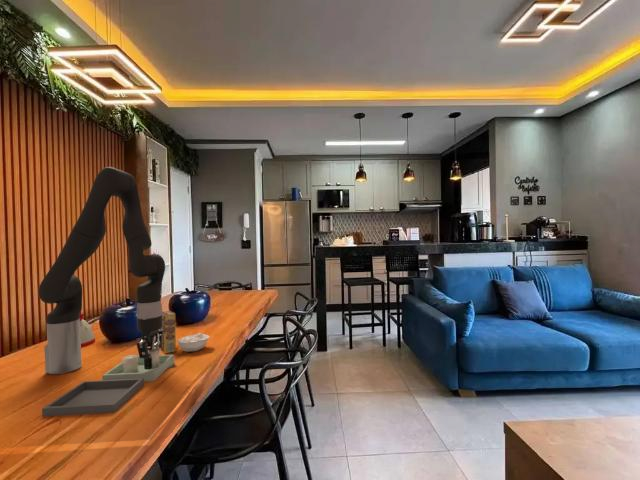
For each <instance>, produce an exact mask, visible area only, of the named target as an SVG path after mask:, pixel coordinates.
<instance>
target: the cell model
mask: <svg viewBox="0 0 640 480" xmlns="http://www.w3.org/2000/svg"><path fill="white" fill-rule="evenodd" d="M209 339H210V336H209V335H208V334H204V333H201V332H198V333H195V334H189V335H187V336H183V337H180V338H178V340H177V344H178V346H179V348H180V349H181V350H183V351H184V352H186V353H188V352H189V353H191V352H198V351H200V350H202V349H203V348H205V346H206V345H207V343H208V341H209Z"/></svg>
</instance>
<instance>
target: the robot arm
mask: <svg viewBox="0 0 640 480" xmlns="http://www.w3.org/2000/svg"><path fill="white" fill-rule="evenodd" d="M112 197H117V198H119V199H120V201H121V203H122V206H123V209H124V215H123V219H122V225H121V226H122V227H121V228H122V232H123V236H124V239H125V241H126V244H127V248H128V267H129V271H130V272H131V274H132V275H133V276H134V277H136V278H145V277H147V278H146V281H145V282H143V283H141V284H139V285H138V286H137V288H136V300H137V301H136V303H137V305H136V325H137V326H136V327H137V328H136V329H137V331H138V332H140V333H142V334H141V341H137V342H136V347H137V352H138V356H139V357H140V358H144V369H145V370H148V369H151V368H152V350H159V351H160V350H161V349H160V348H161V347H162V337H163V330H160V329H161V328H162V327H163V319H162V311H163V305H162V298H161V297H162V296H161V295H162V293H161V292H162V291H161V288H162V284H163V280H164V276H165V272H166V263H165V260H164V258H163V257H162V255H160V254H144V251H146V250H149V249H150V248H151V247H152V240H151V236H150V234H149V231H148V228H147V225H146V223H145V220H144V216H143V212H142V205H141V202H140V201H141V200H140V195H139V189H138V183H137V180H136V178H135V177H134V176H133V174H130V173H128V172H127V171H123V170H121V169H117V168H116V167H113V166H106V167H103V168H102V169H101V170H99V172H98V173H97V175H96V176H95V179H94V181H93V184H92V186H91V189H90V192H89V194H88V197H87V199H86V202H85V204H84V205H83V208H82V210H81V212H80V214H79V217H78V219H77V220H76V222H75V224H74V225H73V227H72V229H71V231H70V233H69V235H68V237H67V240H66V241H65V244H64V245H63V247H62V248H61V250H60V252H59V253H58V255H57V258H56V259H55V261H54V263H53V264H52V265H51V267H50V269H49V270H48V271H47V273H46V274H45V276H44V278H43V279H42V280H41V282H40V284H39V287H38V296H39V299H40V300H41V302H43V303H45V304H49V305H51V304H53V305H54V304H55V306H54V308H53V310H51V311H50V312H49V313H47V315H46V318H45V319H46V320H45V321H46V340H47V341H46V342H47V344H45V345H44V346H43V347H44V367H45V370H44V371H45V374H49V375H62V374H66V373H70V372H71V373H72V372H74V371H76V370H78V369H80V368H81V367H83V366H82V365H83V364H82V347H81V339H80V312H81V313H82V310H83V285H82V282H81V281H82V280H80V278H79V277H78V276H77V275H74V274H75V273H76V272H77V270H78V269H79V268H80V267H81V266H82V265H83V264H84V263H85V262H86V261H87V260H88V259H89V258H90V257H92V256H93V254H95V252H97V251H98V249H99V247H100V245H101V243H102V241H103V239H104V237H105V236H106V232H107V223H106V208H107V205H108V203H109V201H110V199H111V198H112ZM148 351H149V352H148Z"/></svg>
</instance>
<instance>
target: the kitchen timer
mask: <svg viewBox="0 0 640 480" xmlns="http://www.w3.org/2000/svg"><path fill="white" fill-rule="evenodd" d="M84 315H85V313H82V311H81V312H80V339H81V348H84V347H88V346H91V345H93V344H94V343H95V342H96V336H95V333H94V331H93V325H91V324H89V322H87V320H85V319H83V318H84Z"/></svg>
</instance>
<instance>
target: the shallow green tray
mask: <svg viewBox="0 0 640 480" xmlns="http://www.w3.org/2000/svg"><path fill="white" fill-rule="evenodd" d="M159 364H160V366H159V367H157V368H155V369H150V370H145V369H144V358H140V357H139V355H138V372H137V373H123V364H122V361H121V362H119V363H118V364H117V365H115V366H114V367H113V368H111V369H109V370H108V371H107V372H105V373H103V374H102V377H101V378H102V379H101V380H117V379H136V378H144V383H145V382H154V381H156V380H157V379H158V378H159V377H160V376H162V374H163V373H164V372H165V371H167V369H171V368H172V367H174V365H175V354H162V355H161V354H159Z"/></svg>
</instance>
